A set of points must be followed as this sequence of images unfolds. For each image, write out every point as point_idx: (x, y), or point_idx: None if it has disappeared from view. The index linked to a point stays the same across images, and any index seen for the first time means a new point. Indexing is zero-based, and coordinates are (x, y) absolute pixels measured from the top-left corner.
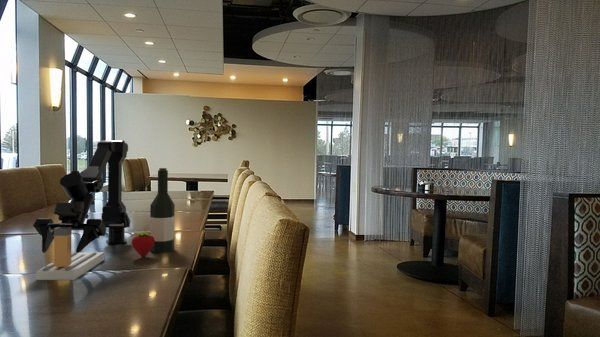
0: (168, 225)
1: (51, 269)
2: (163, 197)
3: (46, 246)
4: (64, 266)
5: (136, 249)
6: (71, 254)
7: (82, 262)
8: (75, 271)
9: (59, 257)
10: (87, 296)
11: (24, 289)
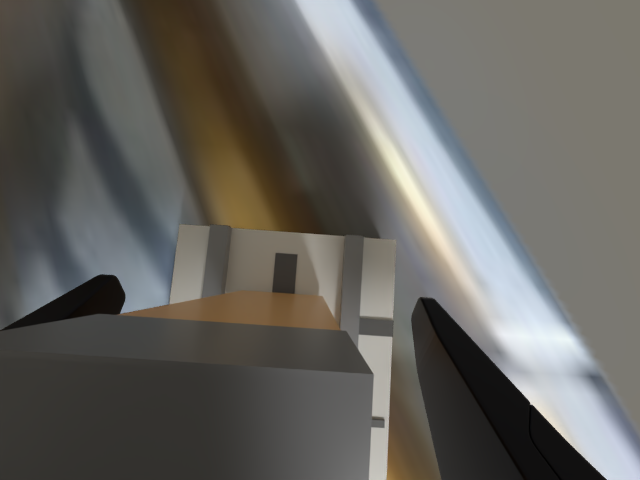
0: None
1: (324, 264)
2: None
3: (432, 364)
4: (258, 291)
5: None
6: None
7: None
8: (180, 240)
9: (284, 298)
10: (69, 10)
11: (369, 117)
